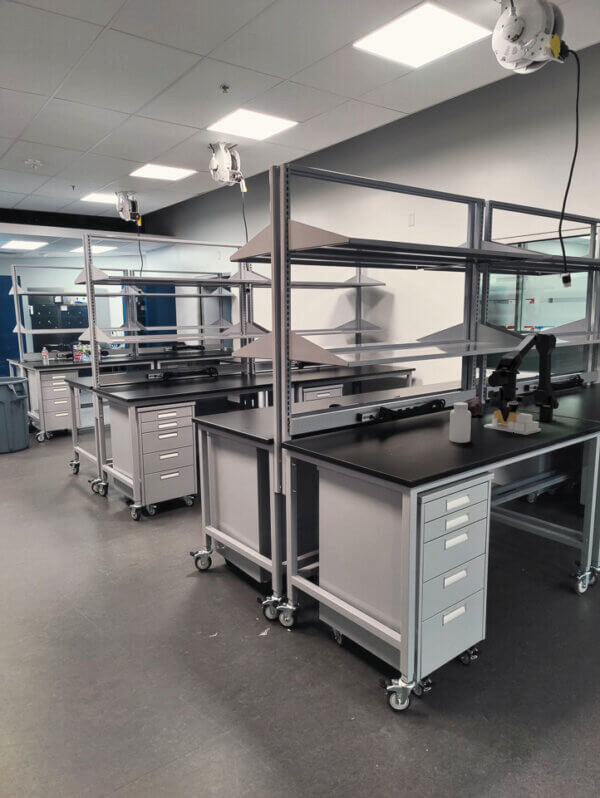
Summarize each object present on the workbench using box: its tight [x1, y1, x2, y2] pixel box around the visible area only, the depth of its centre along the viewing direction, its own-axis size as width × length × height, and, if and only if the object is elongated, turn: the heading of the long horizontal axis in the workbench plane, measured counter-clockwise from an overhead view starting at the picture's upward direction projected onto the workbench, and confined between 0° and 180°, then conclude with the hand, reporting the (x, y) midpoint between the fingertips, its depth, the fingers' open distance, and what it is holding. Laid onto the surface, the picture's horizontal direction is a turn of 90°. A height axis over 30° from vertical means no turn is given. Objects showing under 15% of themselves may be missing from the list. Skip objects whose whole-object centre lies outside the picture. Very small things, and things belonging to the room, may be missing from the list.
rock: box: [462, 396, 483, 417], centre depth 263 cm, size 12×9×10 cm
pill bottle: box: [448, 401, 472, 444], centre depth 211 cm, size 8×8×15 cm
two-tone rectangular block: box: [493, 409, 533, 425], centre depth 231 cm, size 4×16×5 cm, turn 36°
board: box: [483, 417, 542, 436], centre depth 231 cm, size 11×20×4 cm, turn 36°
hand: (507, 420), depth 233 cm, fingers closed on two-tone rectangular block, 3 cm apart
